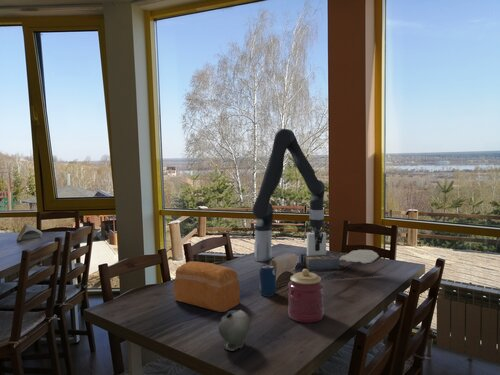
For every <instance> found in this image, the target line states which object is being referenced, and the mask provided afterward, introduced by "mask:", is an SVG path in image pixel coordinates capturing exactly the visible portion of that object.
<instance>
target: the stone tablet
mask: <svg viewBox="0 0 500 375" xmlns="http://www.w3.org/2000/svg"><path fill="white" fill-rule="evenodd" d="M378 258H380V257H379V254H378V253H377V252H376V251H374V250H371V249H357V250H351V251H350V252H349V253H347V254H343V255H342V256H340V257H339V261H345V262H351V263H352V262H354V263H358V262H360V263H362V264H363V265H366V264H371V263H373V262H374V261H376V260H377V259H378Z"/></svg>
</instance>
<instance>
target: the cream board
mask: <svg viewBox="0 0 500 375" xmlns="http://www.w3.org/2000/svg"><path fill="white" fill-rule="evenodd" d="M321 234H323V239H322V243H320V250H319V251H316V250H315V239H314V233H310V232H309V233H306V253H307V256H312V255H326V252H327V233H326V232H321ZM316 238H317V237H316Z"/></svg>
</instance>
